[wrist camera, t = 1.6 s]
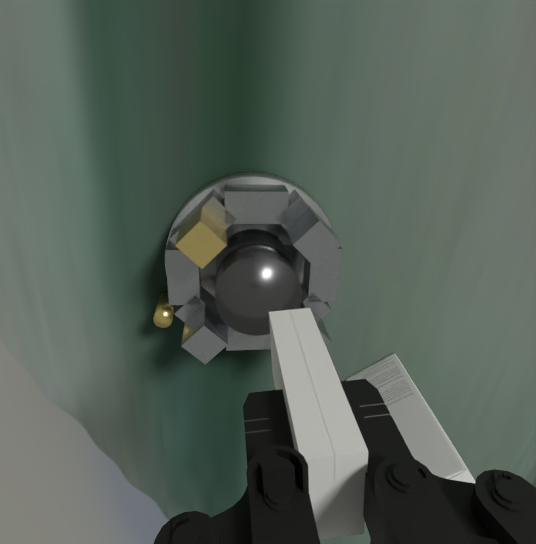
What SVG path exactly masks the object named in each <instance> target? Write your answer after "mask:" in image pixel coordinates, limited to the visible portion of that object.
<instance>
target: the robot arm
mask: <svg viewBox="0 0 536 544" xmlns="http://www.w3.org/2000/svg"><path fill="white" fill-rule="evenodd" d="M269 324H270V340H271V355H272V371H273V378H274V384H275V389H276V390H272V391H263V392H254V393H249V395H248V397H247V399H246V401H245V403H244V405H243V411H244V425H245V438H246V452H247V466H248V467H247V473H246V474H247V483H248V485H247V488H246V491H245V493H244V495H243V496H242V498H241V499H240V500H239V501H238V502H237V503H236V504H235V505H234V506H233V507H231V508H229V509H228V510H226V511H224V512H222V513H220V514H218V515H216V516H214V517H209V516H208V515H207V514H204V513H201V512H198V511H192V512H184V513H182V514H179V515H177V516H175V517H173V518H171V519H170V520H169V521H168V522H167V523H166V524H165V525H164V526H163V527H162V528H161V530H160V532H159V533H158V535H157V537H156V539H155V541H154V544H320V540H321V539H328V538H336V537H343V536H350V535H357V534H364V521H365V522H366V525H367V528H368V531H369V534H370V537H371V542H370V544H536V488H535V487H534V486H533V485H531V484H530V483H529V482H527V481H526V480H525V479H523V478H522V477H520V476H518V475H515V474H513V473H511V472H508V471H502V470H496V469H495V470H489V471H484V472H483V473H482V474H480V475H479V476H477V479H476V482H475V483H469V482H462V481H456V480H450V479H446V478H442V477H439V476H437V475H434V474H432V473H431V472H430V470H429V469H428V468H427V467H426V466H425V465H423V464H422V463H420V462H419V461H417V460H415V459H414V457H413V456H412V454H411V452H410V450H409V448H408V446H407V445H406V443H405V441H404V439H403V437H402V435H401V433H400V431H399V429H398V427H397V425H396V423H395V421H394V420H393V418H392V416H391V415H390V412H389V410H388V408H387V406H386V405H385V403H384V400H383V398H382V396H381V395H380V393H379V391H378V389H377V388H376V387H374V386H373V385H372V384H371V383H370V382H368V381H367V380H366V379H358V380H350V381H341V382H340V380H339V378H338V375H337V373H336V370H335V368H334V366H333V363H332V361H331V358H330V356H329V353H328V351H327V348H326V346H325V343H324V341H323V338H322V336H321V334H320V331H319V329H318V326H317V324H316V321H315V319H314V316H313V314H312V311H311V309H310V308H302V309H292V310H282V311H272V312H269Z"/></svg>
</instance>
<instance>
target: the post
mask: <svg viewBox="0 0 536 544" xmlns="http://www.w3.org/2000/svg"><path fill="white" fill-rule="evenodd" d="M174 310H175V305H169V297H168V291H164V292H162V293H161V294H160V297H159V300H158V304H157V307H156V311H155V314H154V318H153V321H154V323H155V325H156V326H158V327H161V328H166V327H168V326H170V325H171V323H172V320H173V315H174Z"/></svg>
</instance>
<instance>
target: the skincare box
mask: <svg viewBox="0 0 536 544" xmlns="http://www.w3.org/2000/svg"><path fill="white" fill-rule="evenodd" d="M358 379H366V380H367V381H368V382H370V383H371V384H372V385H373V386H374V387H376V388H377V389H378V391H379V393H380V395H381V396H382V398H383V400H384V403H385V405H386V406H387V408H388V410H389V412H390V415H391V416H392V418H393V420H394V421H395V423H396V425H397V427H398V429H399V431H400V433H401V435H402V437H403V439H404V441H405V443H406V445H407V446H408V448H409V450H410V452H411V454H412V456H413V457H414V459H415V460H417V461H419V462H420V463H422V464H423V465H425V466H426V467H427V468H428V469H429V470H430V472H431V473H432V474H434V475H437V476H439V477H442V478H446V479H450V480H456V481H462V482H469V483H475V480H474V478H473V477H472V475H471V473H470V472H469V470H468V468H467V467H466V465H465V464H464V462H463V460H462V459H461V457H460V455H459V454H458V452H457V451H456V449H455V447H454V446H453V444H452V442H451V441H450V439H449V438H448V436H447V434H446V433H445V431H444V430H443V428H442V426H441V425H440V423H439V422H438V420H437V418H436V417H435V415H434V414H433V412H432V411H431V409H430V407H429V406H428V404H427V403H426V401H425V400H424V398H423V397H422V395H421V393H420V392H419V390H418V389H417V387H416V385H415V384H414V382H413V381H412V379H411V377H410V376H409V374H408V373H407V371H406V370H405V368H404V366H403V365H402V363H401V362H400V360H399V359H398V357H397V356H396V354H395V353H393V354H391V355H389V356H387V357H386V358H384V359H382V360H380V361H378V362H377V363H375V364H373V365H371V366H369V367H367V368H366V369H364V370H362V371H360V372H358V373H356V374H354V375H353V376H351V377H349V378H347V379H346V381H350V380H358Z"/></svg>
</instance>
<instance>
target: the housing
mask: <svg viewBox="0 0 536 544" xmlns="http://www.w3.org/2000/svg"><path fill="white" fill-rule="evenodd" d="M224 184H262V185H285V187H286V188H287V190H288V191H289V194H290V193H291V192H292V191H293V190H294V189H295V190H296V191H297V192H298V193H299V195H300V196H301V197H302V198H303V199H304V200H305V201H306V202H307V203H308V204H309V205H310V206H311V207H312V209H313V210H314V211H315V212H316V213H317V214H318V215H319V216H320V217H321V218H322V219H323V220H324V221H325V223H326V224H327V225H328V226H329V227H330V228H331V229H332V227H331V225H330V222H329V221H328V219H327V217H326V215H325V214H324V212H323V211H322V210H321V209H320V207H319V206H318V205H317V204H316V202H315V201H314V200H313V199H312V197H311V196H310V195H308V194H307V193H306V192H305V191H304V190H303V189H302V188H300V187H299V186H297V185H296V184H295V183H293V182H291V181H289V180H287V179H285V178H282V177H279V176H277V175H273V174H269V173H264V172H239V173H233V174H229V175H226V176H223V177H220V178H217V179H215V180H213V181H211V182H209V183H207V184H206V185H204V186H203V187H201V188H200V189H198V190H197V191H196V192H195V193H194V194H193V195H191V196H190V197H189V199H188V200H187V201H186V202H185V203H184V204H183V206H182V207H181V209H180V210H179V212H178V213H177V215H176V218H175V220H174V222H173V224H172V227H171V230H170V233H169V237H168V240H169V239H170V236H171V233H172V230H173V229H174V228H175V227H176V226H177V225H178V224H179V223H180V222H181V221H182V220H183V219H184V218H185V217H186V216H187V215H188V214H189V213H190V212H191V211H192V210H193V209H194V208H195V207H196V206H197V205H198V204H199V203H200V202H201V201H202V200H203V199H204V198H205V197H206V196H207V195H208V194H209V193H210V192H211V191H212V190H213V189H214V190H215V191H217V192H218V193H219V194H220V195H221V196H222V197H223V198H224ZM226 234H227V246H226V247H225V248H224V249H223V250H222V251H221V252H219V253H218V254H217V255H216V256H215V257H214V258H213V259H212V260H211V261H210V262H209V263H208V264H207V265H206V266H205V267H204V268H203V269H201V268H200V269H201V286H202V287H203V288H205V289H206V290H207V291H208V292H209V293H210V294H212V295H213V296H214V297H215V304H216V308H217V311H218V314H219V315H220V317H221V319H222V320H223V321H224V322H225V323H226V324H227V325H228V326H229V327H231V328H232V329H234V330H235V331H237V332H240V333H242V334H246V335H253V336H260V335H267V334H270V324H269V312H272V311H282V310H292V309H300V306H301V302H302V288H301V285H302V284H303V275H304V261H305V257H304V256H303V255H302V254H301V253H300V252H299V251H298V250H297V249H296V248H295V247H294V246H293V244H292V242H291V240H290V238H289V235H288V233H287V231H286V229H285V228H284V227H283V226H282V225H281V224H231V225H230V226H229V227H228V228H227V229H226ZM168 240H167V243H168ZM167 243H166V246H167ZM165 269H166V255H165ZM166 276H167V269H166Z"/></svg>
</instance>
